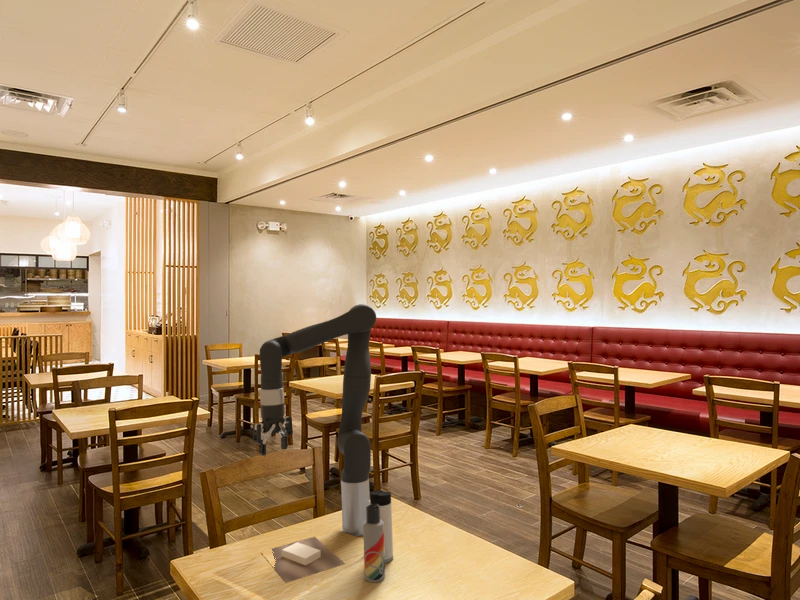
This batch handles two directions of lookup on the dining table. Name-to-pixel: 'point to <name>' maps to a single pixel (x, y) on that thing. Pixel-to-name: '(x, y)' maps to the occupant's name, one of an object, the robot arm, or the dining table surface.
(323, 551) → the cloth
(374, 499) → the travel mug
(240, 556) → the dining table surface
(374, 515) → the lotion bottle
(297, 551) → the tile
